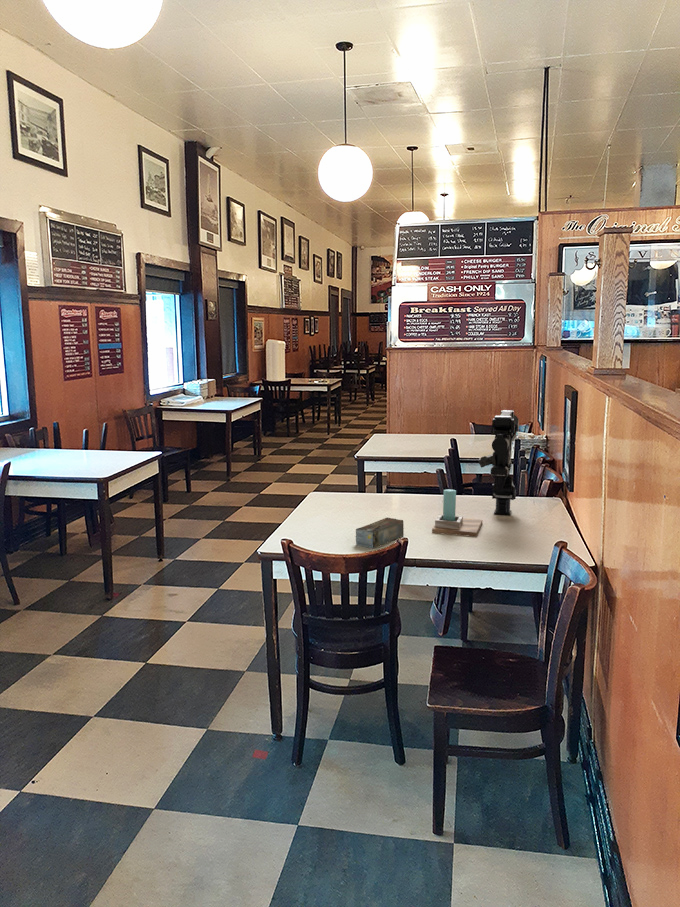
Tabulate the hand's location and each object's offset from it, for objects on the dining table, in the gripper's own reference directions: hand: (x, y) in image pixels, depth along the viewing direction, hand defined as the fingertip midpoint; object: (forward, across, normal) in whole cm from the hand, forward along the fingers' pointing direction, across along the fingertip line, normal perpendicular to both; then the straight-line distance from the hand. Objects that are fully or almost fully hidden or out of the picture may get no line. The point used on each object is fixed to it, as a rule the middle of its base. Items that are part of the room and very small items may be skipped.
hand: (500, 489), depth 267 cm
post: (+12, +15, -17) cm, 25 cm away
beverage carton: (+14, +37, -38) cm, 54 cm away
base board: (+13, +13, -14) cm, 23 cm away
